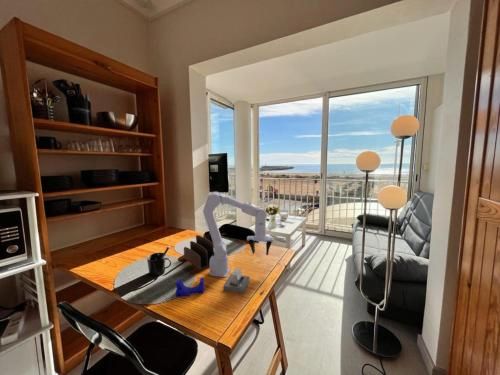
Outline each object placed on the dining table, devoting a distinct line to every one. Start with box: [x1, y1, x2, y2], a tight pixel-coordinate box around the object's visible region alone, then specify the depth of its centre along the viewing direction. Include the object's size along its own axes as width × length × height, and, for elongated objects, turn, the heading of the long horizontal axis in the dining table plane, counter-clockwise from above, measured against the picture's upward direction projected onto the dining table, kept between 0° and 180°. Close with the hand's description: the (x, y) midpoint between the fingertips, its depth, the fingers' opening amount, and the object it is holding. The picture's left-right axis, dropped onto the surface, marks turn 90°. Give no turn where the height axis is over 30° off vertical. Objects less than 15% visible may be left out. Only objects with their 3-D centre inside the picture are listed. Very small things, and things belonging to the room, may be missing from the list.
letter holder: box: [183, 234, 215, 271], centre depth 125 cm, size 10×20×14 cm, turn 44°
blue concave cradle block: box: [175, 277, 205, 298], centre depth 96 cm, size 12×4×6 cm, turn 95°
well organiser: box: [222, 274, 251, 294], centre depth 101 cm, size 10×10×2 cm
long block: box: [230, 267, 243, 287], centre depth 100 cm, size 3×6×7 cm, turn 165°
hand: (260, 253), depth 114 cm, fingers open, 7 cm apart
